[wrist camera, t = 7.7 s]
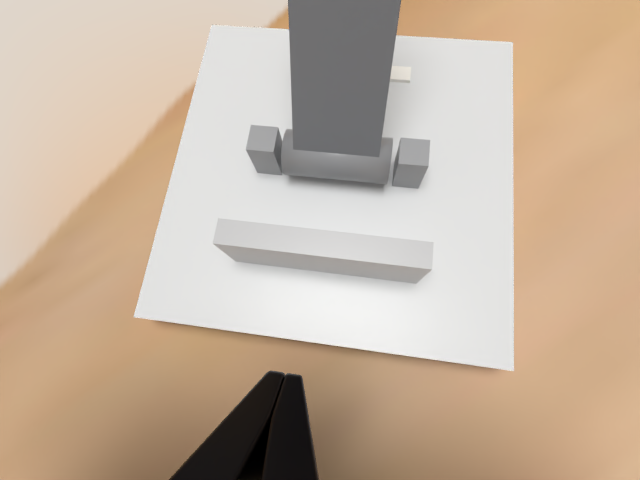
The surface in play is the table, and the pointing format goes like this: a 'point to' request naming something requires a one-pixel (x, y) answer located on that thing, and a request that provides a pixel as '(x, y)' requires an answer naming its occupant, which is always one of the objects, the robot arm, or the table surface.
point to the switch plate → (345, 209)
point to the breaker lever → (340, 89)
